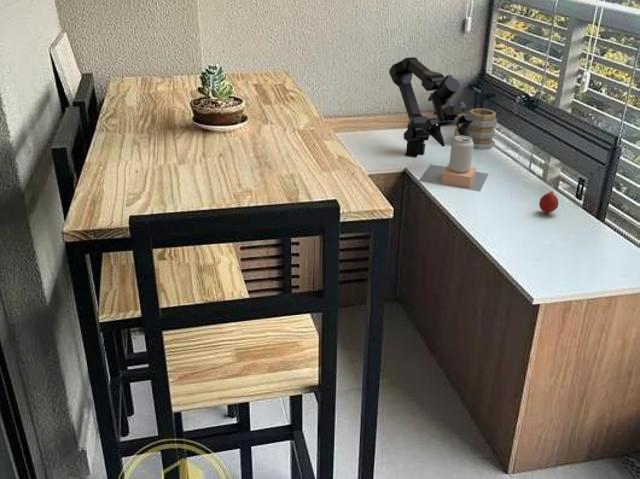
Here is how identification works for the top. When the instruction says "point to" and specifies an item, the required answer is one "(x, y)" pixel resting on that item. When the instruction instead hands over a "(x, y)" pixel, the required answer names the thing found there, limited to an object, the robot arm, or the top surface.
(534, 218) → the top surface
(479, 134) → the tankard
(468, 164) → the can
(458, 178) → the block
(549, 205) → the onion
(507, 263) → the top surface
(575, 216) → the top surface
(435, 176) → the baseplate
